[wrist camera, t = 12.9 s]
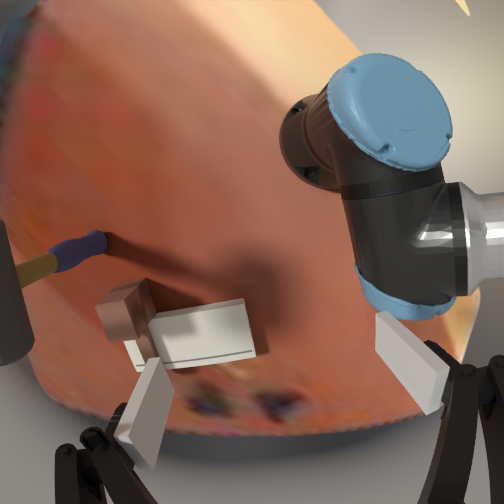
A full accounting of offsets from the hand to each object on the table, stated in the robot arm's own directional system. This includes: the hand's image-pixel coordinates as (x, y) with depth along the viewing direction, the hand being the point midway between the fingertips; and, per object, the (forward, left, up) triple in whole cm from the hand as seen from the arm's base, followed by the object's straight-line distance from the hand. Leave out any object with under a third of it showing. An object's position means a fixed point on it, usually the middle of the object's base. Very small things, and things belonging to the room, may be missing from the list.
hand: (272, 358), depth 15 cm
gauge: (+9, -20, -29) cm, 36 cm away
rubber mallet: (-7, -24, -29) cm, 38 cm away
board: (+12, -14, -29) cm, 34 cm away
